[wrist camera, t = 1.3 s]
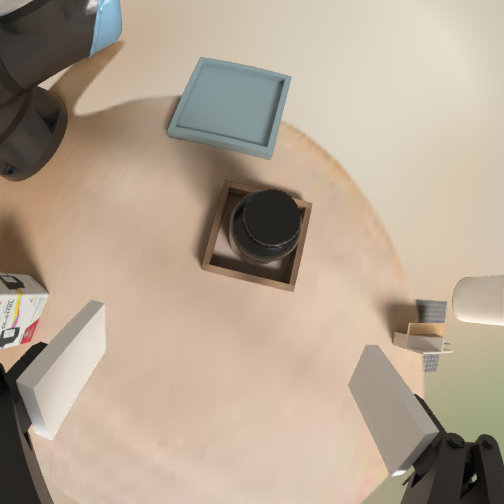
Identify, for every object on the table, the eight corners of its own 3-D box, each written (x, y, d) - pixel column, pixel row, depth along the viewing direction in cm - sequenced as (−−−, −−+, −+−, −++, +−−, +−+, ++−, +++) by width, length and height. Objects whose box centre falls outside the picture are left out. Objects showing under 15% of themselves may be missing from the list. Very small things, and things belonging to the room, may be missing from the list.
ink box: (30, 343, 31) (-23, 358, 20) (9, 322, 31) (-44, 330, 19) (50, 293, 32) (-4, 295, 21) (28, 273, 32) (-27, 268, 21)
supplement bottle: (227, 210, 36) (229, 176, 24) (282, 209, 37) (310, 175, 25) (229, 267, 35) (233, 259, 23) (286, 264, 36) (317, 255, 24)
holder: (202, 269, 35) (201, 269, 33) (225, 185, 36) (225, 179, 34) (289, 291, 36) (293, 291, 33) (307, 207, 37) (312, 203, 35)
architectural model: (394, 320, 37) (426, 326, 30) (429, 321, 38) (462, 326, 30) (390, 344, 37) (421, 354, 29) (426, 344, 37) (458, 351, 30)
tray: (169, 137, 36) (167, 130, 34) (201, 64, 38) (200, 57, 36) (270, 160, 37) (272, 154, 35) (289, 83, 39) (291, 76, 37)
